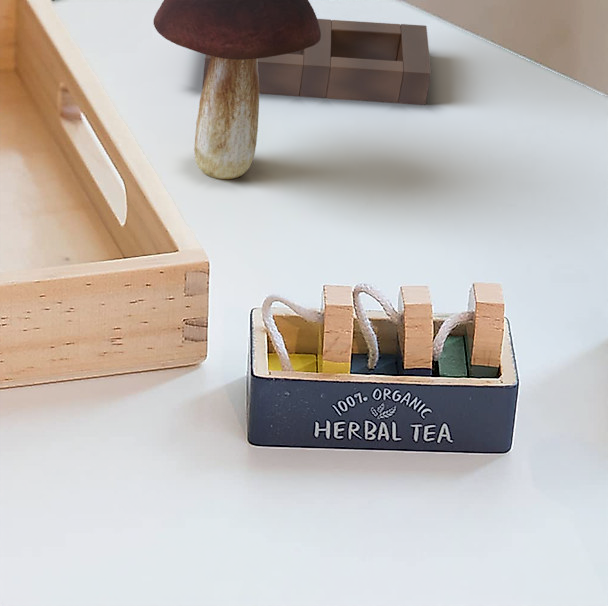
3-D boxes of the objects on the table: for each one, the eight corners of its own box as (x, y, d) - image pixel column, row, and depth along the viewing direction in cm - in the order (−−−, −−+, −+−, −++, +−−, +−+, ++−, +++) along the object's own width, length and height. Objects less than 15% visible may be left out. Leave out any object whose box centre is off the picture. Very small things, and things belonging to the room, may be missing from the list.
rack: (419, 62, 122) (426, 25, 120) (423, 112, 115) (431, 73, 113) (209, 48, 124) (213, 11, 122) (201, 96, 117) (204, 58, 115)
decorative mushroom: (259, 134, 112) (283, -78, 102) (328, 201, 105) (362, -21, 95) (120, 155, 110) (132, -60, 100) (181, 225, 102) (199, 0, 92)
